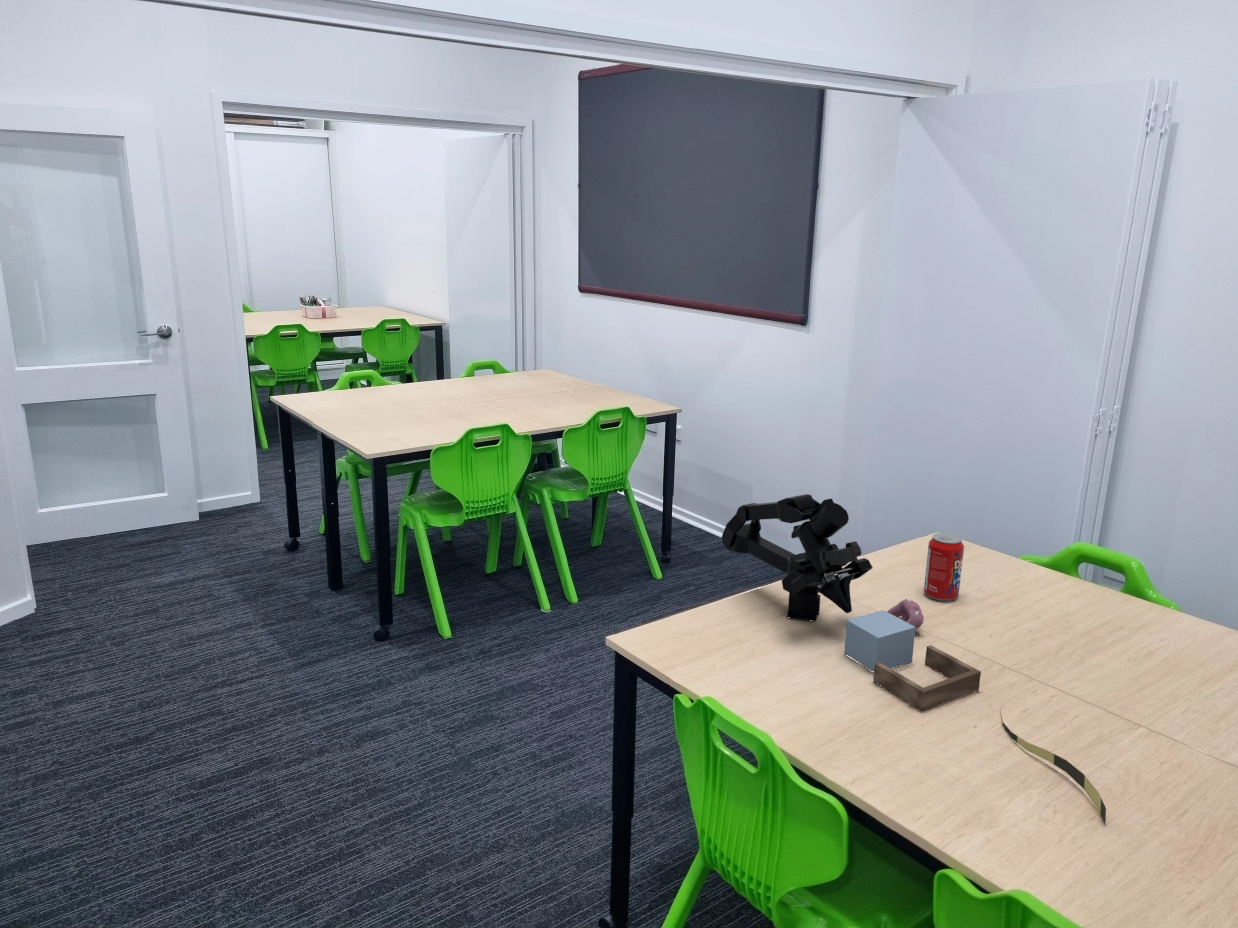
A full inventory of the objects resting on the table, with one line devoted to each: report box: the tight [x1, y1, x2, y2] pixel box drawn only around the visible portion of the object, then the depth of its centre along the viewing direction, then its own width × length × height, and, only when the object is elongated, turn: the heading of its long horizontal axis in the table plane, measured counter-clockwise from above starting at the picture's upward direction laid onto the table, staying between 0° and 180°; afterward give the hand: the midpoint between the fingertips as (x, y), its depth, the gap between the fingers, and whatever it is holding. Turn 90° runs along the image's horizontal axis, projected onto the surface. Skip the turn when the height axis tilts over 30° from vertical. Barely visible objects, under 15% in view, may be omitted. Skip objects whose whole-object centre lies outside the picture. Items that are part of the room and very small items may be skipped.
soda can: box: [923, 532, 965, 602], centre depth 209 cm, size 8×8×15 cm
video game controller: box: [886, 598, 925, 631], centre depth 195 cm, size 10×5×7 cm, turn 179°
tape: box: [999, 711, 1107, 825], centre depth 150 cm, size 6×38×4 cm, turn 178°
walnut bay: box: [872, 645, 982, 712], centre depth 171 cm, size 12×15×4 cm
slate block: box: [843, 609, 916, 672], centre depth 181 cm, size 9×10×8 cm
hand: (849, 612), depth 188 cm, fingers closed
